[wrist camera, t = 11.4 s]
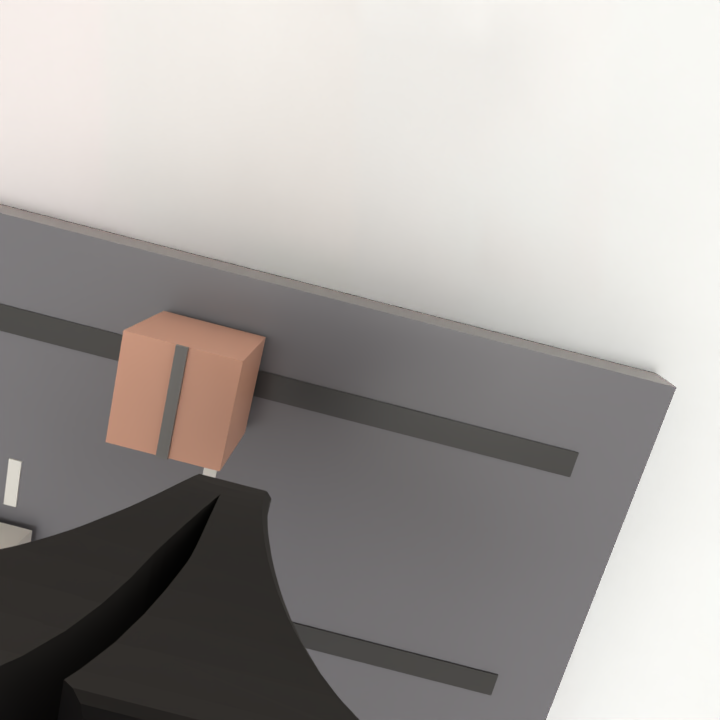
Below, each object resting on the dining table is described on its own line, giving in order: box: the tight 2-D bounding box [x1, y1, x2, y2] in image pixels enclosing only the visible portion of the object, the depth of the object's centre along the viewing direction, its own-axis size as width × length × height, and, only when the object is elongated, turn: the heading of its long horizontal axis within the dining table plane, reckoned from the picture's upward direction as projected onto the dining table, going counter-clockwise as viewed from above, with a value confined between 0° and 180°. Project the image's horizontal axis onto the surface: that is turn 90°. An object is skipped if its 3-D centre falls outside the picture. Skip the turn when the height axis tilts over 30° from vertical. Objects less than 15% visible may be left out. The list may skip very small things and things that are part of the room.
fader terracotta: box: [106, 311, 266, 471], centre depth 17 cm, size 3×3×3 cm
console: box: [0, 204, 676, 720], centre depth 21 cm, size 14×26×2 cm, turn 76°
